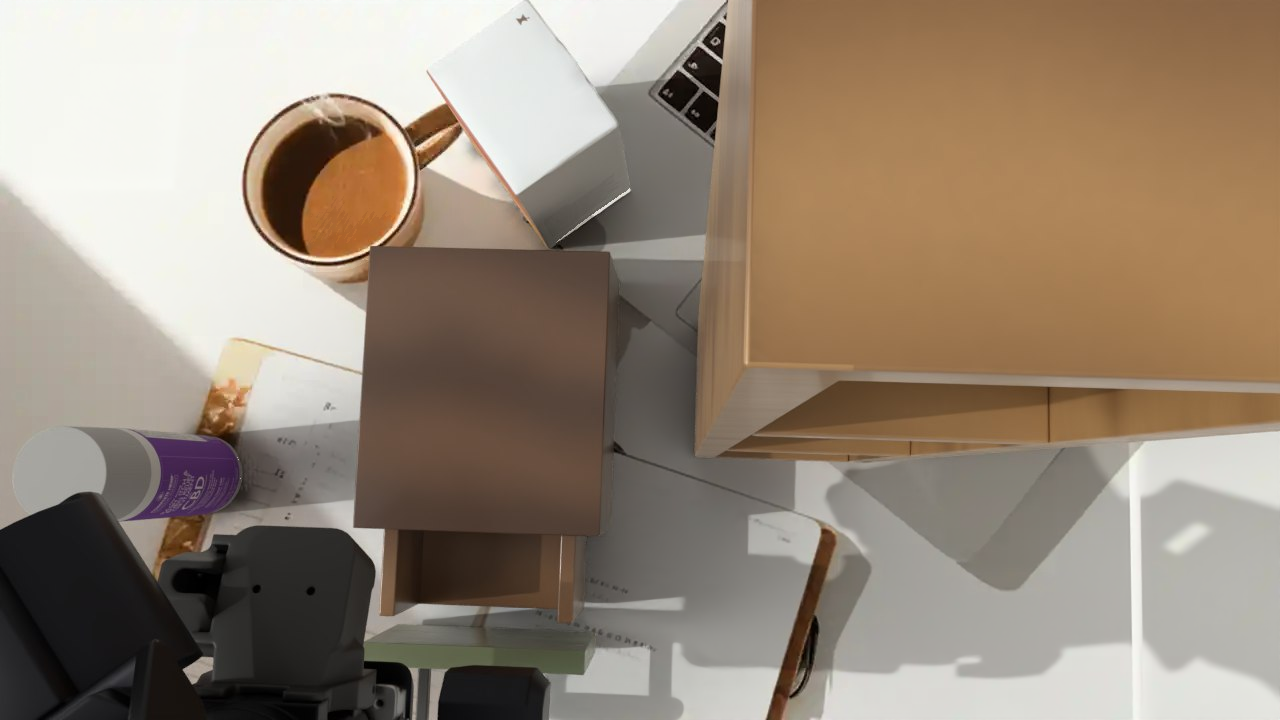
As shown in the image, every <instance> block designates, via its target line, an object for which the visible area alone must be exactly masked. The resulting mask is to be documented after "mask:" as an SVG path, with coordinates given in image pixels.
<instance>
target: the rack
mask: <svg viewBox="0 0 1280 720" xmlns="http://www.w3.org/2000/svg"><path fill="white" fill-rule="evenodd" d="M725 19H726V21H725V31H724V42H723V50H722V51H723V52H722V61H721V71H720V72H721V74H720V83H719V93H718V106H717V116H716V126H715V134H714V135H715V136H714V145H713V146H714V147H713V157H712V168H711V177H710V188H709V189H710V190H709V200H708V210H707V220H706V221H707V222H706V229H705V230H706V232H705V242H704V253H703V263H702V274H701V282H700V283H701V284H700V297H699V305H698V306H699V307H698V316H697V333H696V334H698V336H697V335H696V336H697V338H696V339H697V340H696V369H695V370H696V373H695V375H696V376H695V404H694V405H695V411H694V414H695V415H694V443H693V444H694V445H693V457H694V458H705V459H706V458H707V459H714V458H715V459H733V460H734V459H739V460H765V461H767V460H768V461H769V460H770V461H796V462H797V461H798V462H799V461H800V462H824V463H825V462H826V463H827V462H829V463H857V464H858V463H859V464H870V463H882V462H894V461H906V460H909V461H910V460H919V459H921V460H922V459H932V458H935V459H936V458H946V457H958V456H961V457H962V456H973V455H985V454H986V455H987V454H999V453H1013V452H1023V451H1024V452H1025V451H1026V452H1027V451H1038V450H1051V449H1062V448H1063V449H1065V448H1075V447H1076V448H1078V447H1091V446H1102V445H1103V446H1104V445H1115V444H1129V443H1141V442H1142V443H1143V442H1155V441H1156V442H1157V441H1169V440H1183V439H1194V438H1195V439H1196V438H1209V437H1221V436H1233V435H1246V434H1259V433H1272V432H1273V433H1274V432H1280V0H727V10H726V18H725Z"/></svg>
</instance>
